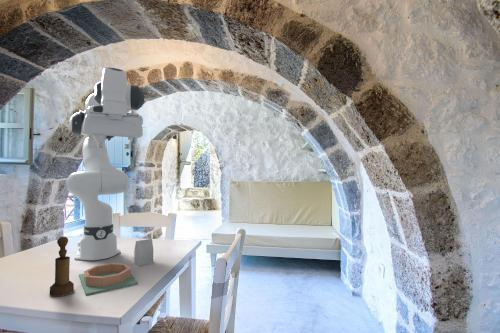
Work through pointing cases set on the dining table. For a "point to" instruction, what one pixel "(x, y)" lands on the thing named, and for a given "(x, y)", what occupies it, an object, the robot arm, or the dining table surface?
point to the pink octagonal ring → (108, 280)
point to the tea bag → (143, 252)
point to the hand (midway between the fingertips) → (113, 148)
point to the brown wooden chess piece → (62, 271)
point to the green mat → (95, 289)
